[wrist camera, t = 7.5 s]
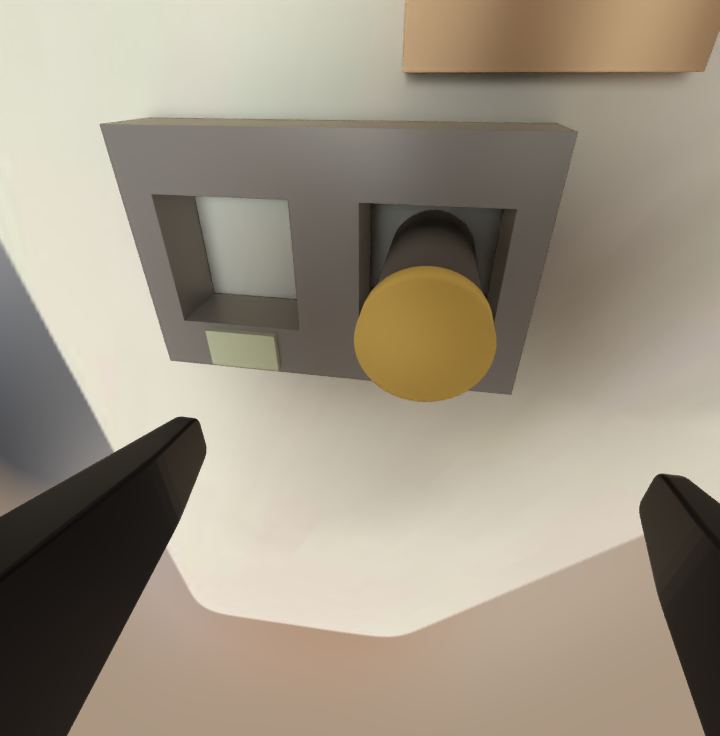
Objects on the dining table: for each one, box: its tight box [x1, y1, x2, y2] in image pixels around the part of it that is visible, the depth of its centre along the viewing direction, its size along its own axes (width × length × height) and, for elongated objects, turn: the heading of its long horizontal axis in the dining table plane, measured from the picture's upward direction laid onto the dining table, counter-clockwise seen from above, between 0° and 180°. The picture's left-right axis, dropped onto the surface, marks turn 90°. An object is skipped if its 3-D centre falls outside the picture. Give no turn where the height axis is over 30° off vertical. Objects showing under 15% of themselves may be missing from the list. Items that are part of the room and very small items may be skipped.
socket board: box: [100, 118, 578, 395], centre depth 18 cm, size 16×10×3 cm, turn 90°
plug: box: [354, 210, 497, 402], centre depth 15 cm, size 4×4×8 cm
